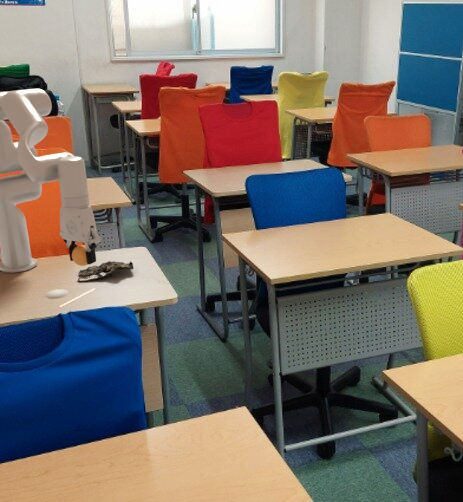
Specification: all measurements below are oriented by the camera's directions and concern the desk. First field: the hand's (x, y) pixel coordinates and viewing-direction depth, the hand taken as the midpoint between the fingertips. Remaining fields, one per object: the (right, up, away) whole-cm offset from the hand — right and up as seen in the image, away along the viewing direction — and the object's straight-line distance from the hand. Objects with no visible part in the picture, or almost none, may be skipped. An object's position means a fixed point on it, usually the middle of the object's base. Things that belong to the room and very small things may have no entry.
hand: (83, 260), depth 179 cm
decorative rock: (+1, -5, +27) cm, 27 cm away
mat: (-5, -11, +9) cm, 15 cm away
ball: (0, -1, 0) cm, 1 cm away
